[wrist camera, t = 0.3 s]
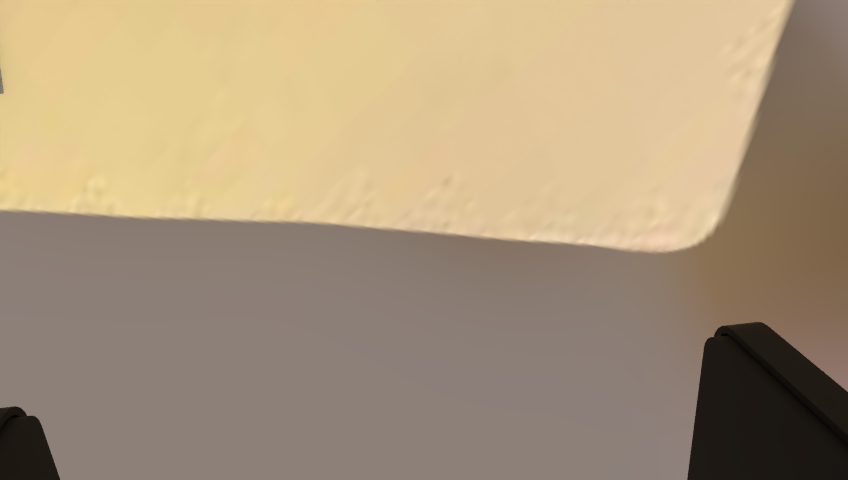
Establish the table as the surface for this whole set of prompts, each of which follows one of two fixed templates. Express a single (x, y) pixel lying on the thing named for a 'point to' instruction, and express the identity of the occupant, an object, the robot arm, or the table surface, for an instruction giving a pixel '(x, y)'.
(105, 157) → the table surface
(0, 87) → the mat
